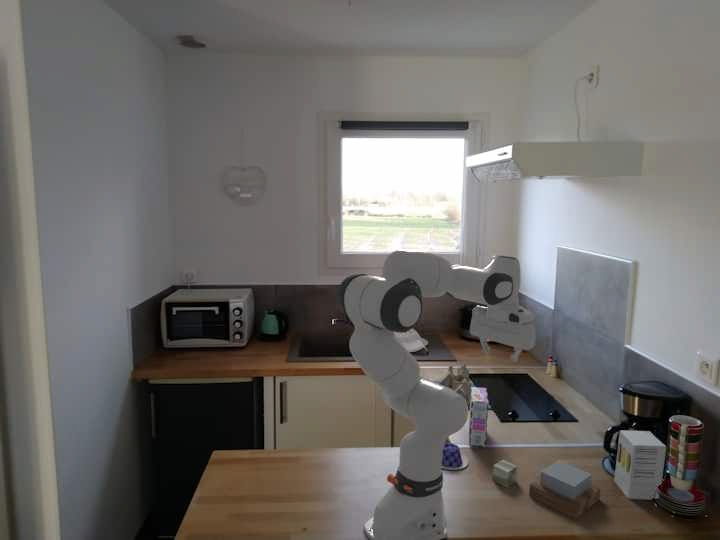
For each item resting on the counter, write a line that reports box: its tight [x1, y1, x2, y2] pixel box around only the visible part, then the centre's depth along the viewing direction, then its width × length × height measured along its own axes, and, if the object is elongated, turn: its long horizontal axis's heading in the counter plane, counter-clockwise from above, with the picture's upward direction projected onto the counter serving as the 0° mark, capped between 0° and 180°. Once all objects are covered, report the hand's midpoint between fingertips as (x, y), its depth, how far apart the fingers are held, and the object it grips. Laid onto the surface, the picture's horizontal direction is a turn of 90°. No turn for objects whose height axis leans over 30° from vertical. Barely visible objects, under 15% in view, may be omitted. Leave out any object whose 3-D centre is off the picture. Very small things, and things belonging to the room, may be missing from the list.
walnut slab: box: [528, 476, 601, 520], centre depth 149 cm, size 14×14×4 cm
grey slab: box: [539, 460, 592, 500], centre depth 148 cm, size 10×10×4 cm
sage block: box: [492, 459, 518, 488], centre depth 157 cm, size 5×5×5 cm
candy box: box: [468, 386, 489, 448], centre depth 183 cm, size 14×6×16 cm, turn 168°
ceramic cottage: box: [438, 362, 472, 405], centre depth 217 cm, size 16×16×15 cm
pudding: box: [442, 442, 469, 471], centre depth 168 cm, size 12×12×5 cm
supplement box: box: [613, 429, 667, 501], centre depth 152 cm, size 10×9×17 cm
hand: (499, 356), depth 152 cm, fingers open, 8 cm apart
